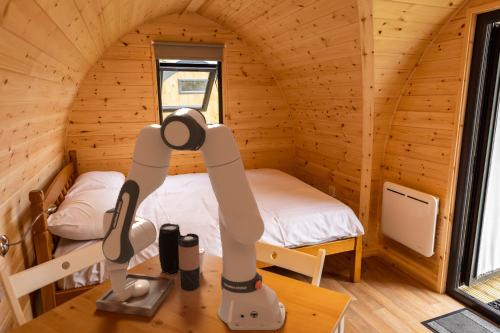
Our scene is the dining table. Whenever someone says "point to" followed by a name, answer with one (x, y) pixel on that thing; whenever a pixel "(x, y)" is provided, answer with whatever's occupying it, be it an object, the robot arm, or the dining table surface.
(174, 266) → the portable speaker
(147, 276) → the panel
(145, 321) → the dining table surface
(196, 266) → the travel mug
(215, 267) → the dining table surface
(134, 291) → the beige rounded piece
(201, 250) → the smoothie
